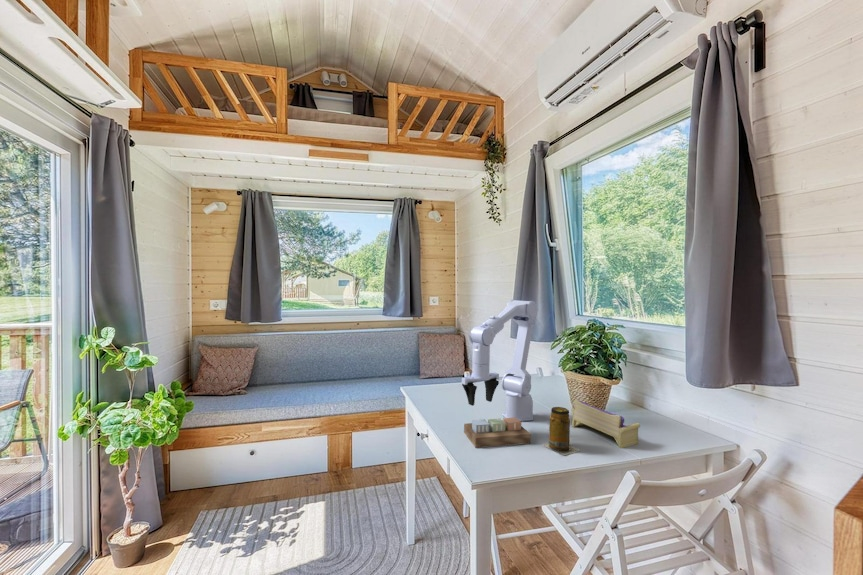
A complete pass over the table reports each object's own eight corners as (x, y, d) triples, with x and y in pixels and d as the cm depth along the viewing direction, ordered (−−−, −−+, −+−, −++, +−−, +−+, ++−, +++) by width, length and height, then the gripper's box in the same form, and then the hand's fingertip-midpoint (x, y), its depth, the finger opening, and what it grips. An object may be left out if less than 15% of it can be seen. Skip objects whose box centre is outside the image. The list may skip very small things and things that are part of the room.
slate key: (484, 429, 132) (484, 419, 132) (489, 434, 128) (489, 424, 128) (471, 430, 131) (472, 420, 131) (476, 435, 127) (476, 425, 127)
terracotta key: (515, 427, 135) (515, 417, 134) (521, 432, 130) (521, 422, 130) (503, 428, 134) (503, 418, 133) (508, 433, 129) (508, 423, 129)
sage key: (500, 428, 133) (500, 418, 133) (505, 433, 129) (505, 423, 129) (487, 429, 132) (487, 419, 132) (492, 434, 128) (492, 424, 128)
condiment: (558, 440, 129) (559, 404, 129) (580, 450, 122) (581, 412, 122) (542, 445, 125) (543, 407, 125) (564, 456, 118) (565, 416, 118)
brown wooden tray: (514, 428, 139) (514, 420, 139) (530, 443, 127) (530, 433, 127) (463, 432, 135) (464, 423, 135) (475, 447, 123) (475, 438, 123)
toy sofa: (640, 444, 128) (641, 413, 127) (622, 449, 124) (623, 417, 123) (587, 422, 146) (588, 395, 146) (570, 426, 142) (571, 398, 142)
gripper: (489, 358, 141) (488, 396, 141) (456, 362, 133) (455, 402, 134) (503, 362, 135) (502, 401, 136) (469, 367, 127) (468, 409, 128)
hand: (480, 402), depth 134 cm, fingers open, 7 cm apart
